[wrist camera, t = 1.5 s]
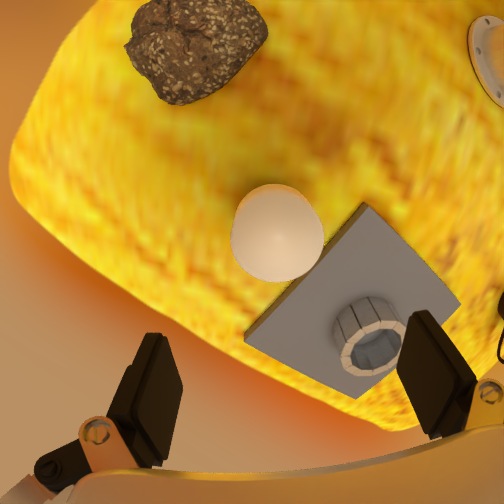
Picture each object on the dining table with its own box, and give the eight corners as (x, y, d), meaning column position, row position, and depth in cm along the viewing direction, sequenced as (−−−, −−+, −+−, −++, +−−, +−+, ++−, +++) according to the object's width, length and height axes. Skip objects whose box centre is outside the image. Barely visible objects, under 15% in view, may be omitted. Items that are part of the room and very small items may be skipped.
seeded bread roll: (285, 41, 23) (291, 25, 18) (184, 122, 26) (169, 122, 22) (198, -34, 19) (189, -57, 14) (106, 44, 22) (83, 33, 18)
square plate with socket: (363, 202, 29) (387, 220, 23) (455, 298, 33) (478, 323, 28) (244, 333, 35) (242, 369, 30) (353, 392, 40) (362, 423, 34)
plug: (304, 172, 28) (323, 191, 20) (306, 238, 30) (323, 278, 22) (234, 177, 28) (225, 198, 20) (241, 242, 31) (235, 285, 23)
